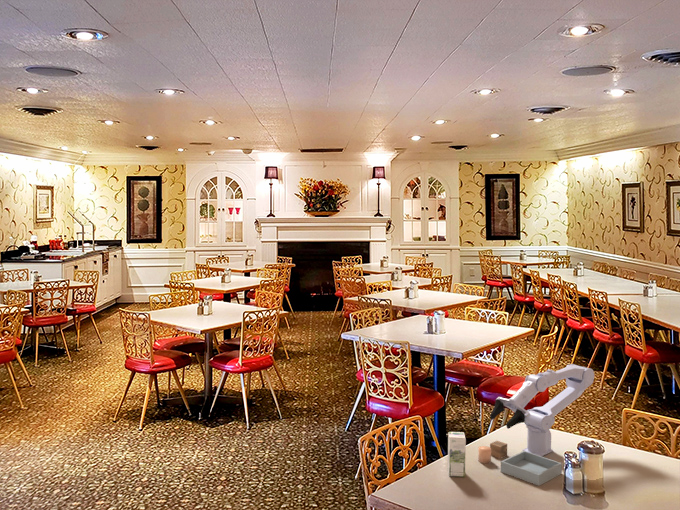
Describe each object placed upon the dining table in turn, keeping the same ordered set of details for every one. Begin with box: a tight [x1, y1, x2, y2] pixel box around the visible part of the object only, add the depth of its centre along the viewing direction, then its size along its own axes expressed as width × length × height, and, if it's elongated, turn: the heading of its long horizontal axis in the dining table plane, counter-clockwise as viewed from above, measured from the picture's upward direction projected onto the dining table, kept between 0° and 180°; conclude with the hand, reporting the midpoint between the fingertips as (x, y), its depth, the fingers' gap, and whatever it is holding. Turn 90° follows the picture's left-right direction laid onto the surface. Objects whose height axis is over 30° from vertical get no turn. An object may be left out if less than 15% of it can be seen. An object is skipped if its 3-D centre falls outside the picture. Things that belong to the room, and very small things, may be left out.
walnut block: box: [489, 440, 508, 459], centre depth 232 cm, size 5×5×5 cm
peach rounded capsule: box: [477, 445, 492, 465], centre depth 226 cm, size 5×5×5 cm
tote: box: [500, 450, 563, 487], centre depth 216 cm, size 15×15×4 cm
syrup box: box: [447, 431, 467, 478], centre depth 215 cm, size 6×6×14 cm
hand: (499, 422), depth 224 cm, fingers open, 7 cm apart
